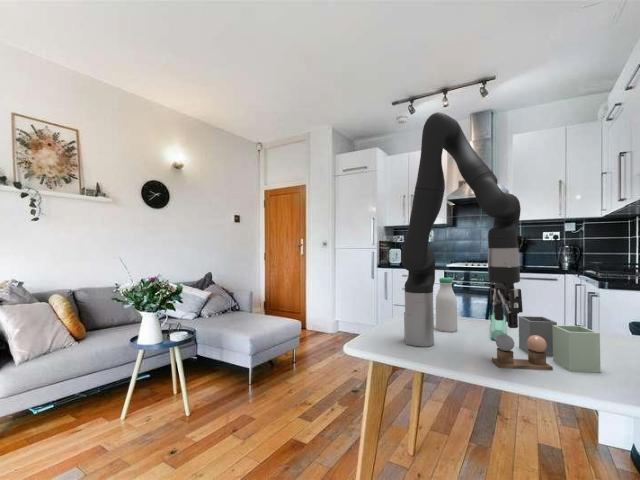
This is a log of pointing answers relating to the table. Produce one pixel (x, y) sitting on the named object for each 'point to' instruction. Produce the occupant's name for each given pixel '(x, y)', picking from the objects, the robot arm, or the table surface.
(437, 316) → the milk bottle
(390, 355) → the table surface
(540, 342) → the terracotta ball
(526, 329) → the pair of storage bins
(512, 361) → the rack
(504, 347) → the grey ball
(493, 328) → the container
